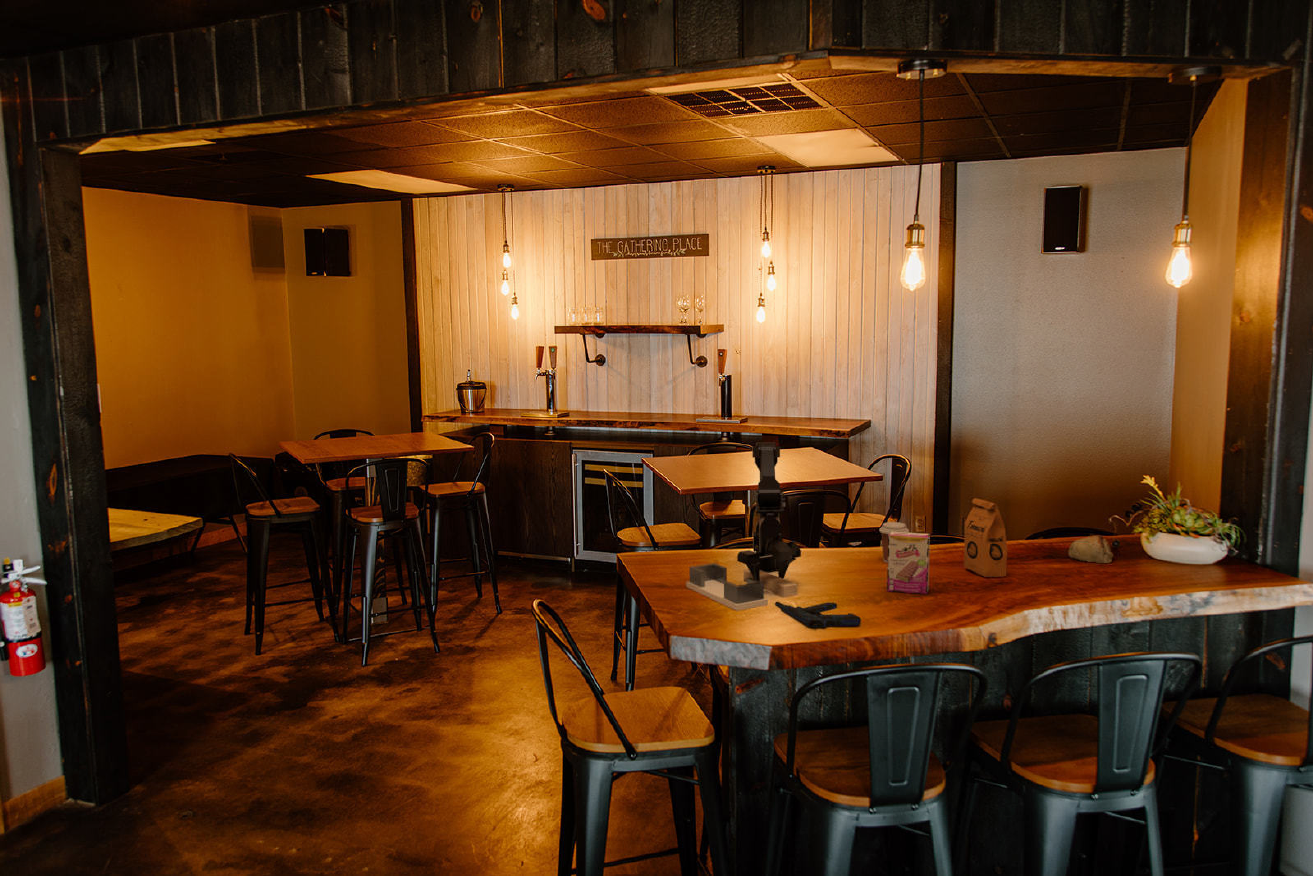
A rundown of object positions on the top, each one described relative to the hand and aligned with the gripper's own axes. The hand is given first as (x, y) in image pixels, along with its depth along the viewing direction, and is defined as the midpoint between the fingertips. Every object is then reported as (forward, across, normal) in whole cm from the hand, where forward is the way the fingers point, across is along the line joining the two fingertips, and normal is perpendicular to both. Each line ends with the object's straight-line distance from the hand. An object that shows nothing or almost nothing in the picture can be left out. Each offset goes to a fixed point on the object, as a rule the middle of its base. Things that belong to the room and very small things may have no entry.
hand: (769, 583), depth 252 cm
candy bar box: (+1, +31, -23) cm, 39 cm away
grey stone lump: (+2, +105, -26) cm, 109 cm away
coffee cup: (+1, +51, +4) cm, 51 cm away
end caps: (0, -15, 0) cm, 15 cm away
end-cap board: (+1, -15, 0) cm, 15 cm away
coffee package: (+1, +64, -21) cm, 67 cm away
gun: (+2, -4, -27) cm, 28 cm away
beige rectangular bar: (+2, 0, 0) cm, 2 cm away
